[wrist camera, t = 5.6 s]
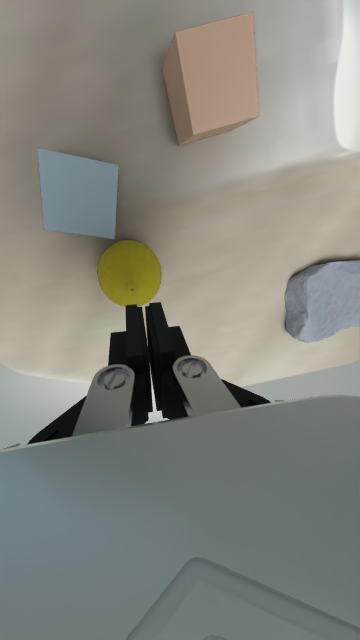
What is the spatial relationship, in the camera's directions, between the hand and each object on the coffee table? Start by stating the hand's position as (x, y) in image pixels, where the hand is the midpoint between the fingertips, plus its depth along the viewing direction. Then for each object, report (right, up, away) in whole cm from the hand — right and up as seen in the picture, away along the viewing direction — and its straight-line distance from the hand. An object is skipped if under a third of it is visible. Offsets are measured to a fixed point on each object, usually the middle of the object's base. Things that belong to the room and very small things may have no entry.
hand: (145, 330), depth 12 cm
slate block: (-7, +12, +10) cm, 16 cm away
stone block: (+21, +4, +21) cm, 30 cm away
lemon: (-4, +7, +13) cm, 15 cm away
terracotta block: (+3, +19, +8) cm, 21 cm away
